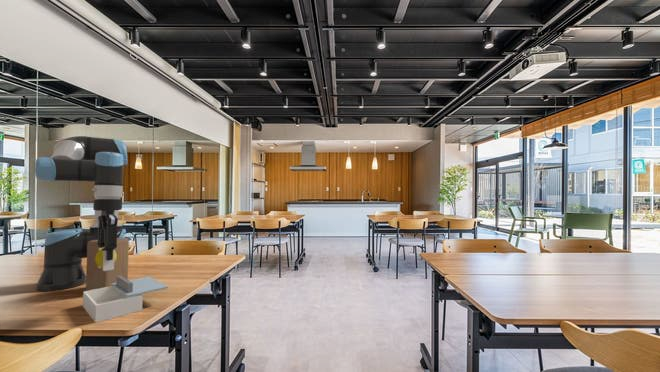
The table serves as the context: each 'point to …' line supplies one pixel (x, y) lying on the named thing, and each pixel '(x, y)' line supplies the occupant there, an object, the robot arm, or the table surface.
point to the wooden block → (105, 278)
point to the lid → (137, 286)
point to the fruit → (100, 257)
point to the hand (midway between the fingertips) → (105, 268)
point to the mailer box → (110, 303)
